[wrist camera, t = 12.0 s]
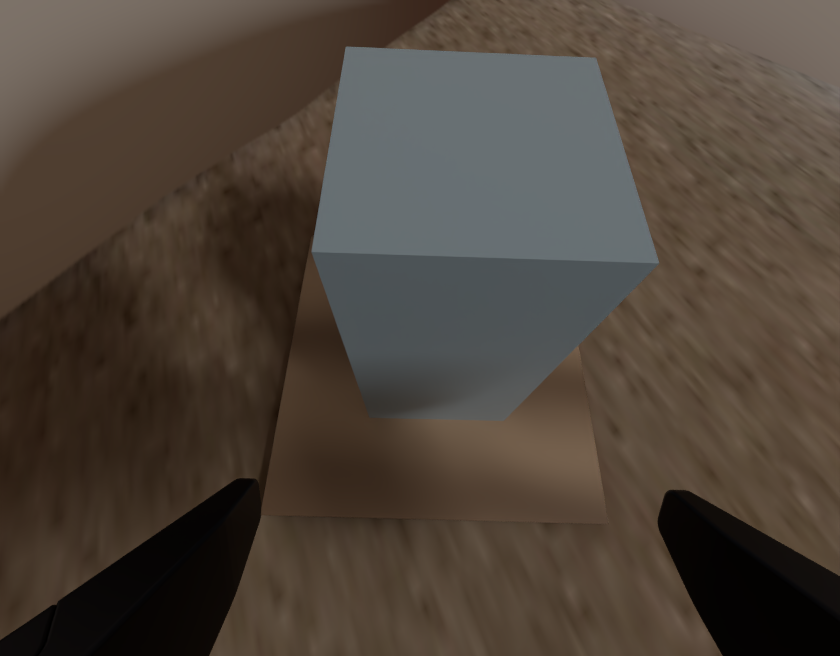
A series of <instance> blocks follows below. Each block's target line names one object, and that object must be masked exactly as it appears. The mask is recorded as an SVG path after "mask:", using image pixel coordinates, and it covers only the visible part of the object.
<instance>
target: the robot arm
mask: <svg viewBox="0 0 840 656" xmlns="http://www.w3.org/2000/svg"><path fill="white" fill-rule="evenodd" d="M260 518H261V500H260V491H259V484H258V481H257V480H256V479H251V478H239V479H236V480H234V481H233V482H231V483H230V484H228V485H227V486H225V487H224V488H222V489H221V490H220V491H218V492H217V493H215V494H214V495H212V496H211V497H209V498H208V499H206V500H205V501H204V502H202V503H201V504H199V505H198V506H196V507H195V508H193V509H192V510H190V511H189V512H187V513H186V514H185V515H183V516H182V517H180V518H179V519H177V520H176V521H174V522H173V523H171V524H170V525H169V526H167V527H166V528H164V529H163V530H161V531H160V532H158V533H157V534H155V535H154V536H152V537H151V538H150V539H148V540H147V541H145V542H144V543H142V544H141V545H139V546H138V547H136V548H135V549H133V550H132V551H131V552H129V553H128V554H126V555H125V556H123V557H122V558H120V559H119V560H117V561H116V562H115V563H113V564H112V565H110V566H109V567H107V568H106V569H104V570H103V571H101V572H100V573H98V574H97V575H96V576H94V577H93V578H91V579H90V580H88V581H87V582H85V583H84V584H82V585H81V586H80V587H78V588H77V589H75V590H74V591H72V592H71V593H69V594H68V595H66V596H65V597H63V598H62V599H61V600H59V601H58V603H57V606H56V605H52V606H50V607H49V608H47V609H46V610H44V611H43V612H41V613H40V614H38V615H37V616H36V617H34V618H33V619H31V620H30V621H28V622H27V623H25V624H24V625H22V626H21V627H19V628H18V629H16V630H15V631H13V632H12V633H10V634H9V635H7V636H6V637H4V638H3V639H1V640H0V656H209V655H210V652H211V650H212V648H213V646H214V643H215V641H216V639H217V636H218V634H219V632H220V630H221V627H222V625H223V623H224V620H225V618H226V616H227V614H228V611H229V609H230V607H231V604H232V602H233V599H234V597H235V595H236V592H237V589H238V586H239V583H240V580H241V577H242V574H243V571H244V568H245V565H246V562H247V559H248V556H249V553H250V550H251V547H252V543H253V540H254V537H255V534H256V531H257V528H258V525H259V522H260ZM658 528H659V531H660V533H661V535H662V538H663V540H664V542H665V544H666V546H667V548H668V551H669V553H670V555H671V557H672V559H673V561H674V564H675V566H676V568H677V570H678V572H679V574H680V577H681V579H682V581H683V583H684V585H685V587H686V590H687V592H688V594H689V596H690V598H691V600H692V602H693V604H694V606H695V608H696V609H697V611H698V613H699V615H700V617H701V619H702V620H703V622H704V624H705V626H706V627H707V629H708V631H709V633H710V634H711V636H712V638H713V640H714V641H715V643H716V645H717V647H718V648H719V650H720V652H721V654H722V655H723V656H840V576H838V575H837V574H835V573H833V572H831V571H830V570H828V569H826V568H824V567H822V566H821V565H819V564H817V563H815V562H814V561H812V560H810V559H808V558H807V557H805V556H803V555H801V554H799V553H798V552H796V551H794V550H792V549H791V548H789V547H787V546H785V545H784V544H782V543H780V542H778V541H776V540H775V539H773V538H771V537H769V536H768V535H766V534H764V533H762V532H761V531H759V530H757V529H755V528H753V527H752V526H750V525H748V524H746V523H745V522H743V521H741V520H739V519H738V518H736V517H734V516H732V515H730V514H729V513H727V512H725V511H723V510H722V509H720V508H718V507H716V506H715V505H713V504H711V503H709V502H707V501H706V500H704V499H702V498H700V497H699V496H697V495H695V494H693V493H692V492H690V491H686V490H669V491H667V492H666V493H665V495H664V499H663V502H662V506H661V509H660V512H659V516H658Z"/></svg>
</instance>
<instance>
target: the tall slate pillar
mask: <svg viewBox="0 0 840 656" xmlns="http://www.w3.org/2000/svg"><path fill="white" fill-rule="evenodd" d="M311 252H312V255H313V258H314V261H315V264H316V267H317V269H318V272H319V275H320V278H321V281H322V284H323V287H324V289H325V292H326V295H327V298H328V301H329V304H330V307H331V309H332V312H333V315H334V318H335V321H336V324H337V327H338V329H339V332H340V335H341V338H342V341H343V344H344V347H345V349H346V352H347V355H348V358H349V361H350V364H351V367H352V369H353V372H354V375H355V378H356V381H357V384H358V387H359V389H360V392H361V395H362V398H363V401H364V404H365V407H366V409H367V412H368V415H369V418H399V419H443V420H487V421H504V420H505V419H506V418H507V417H508V416H509V415H510V414H511V413H512V412H513V411H514V410H515V409H516V408H517V407H518V406H519V405H520V404H521V403H522V402H523V401H524V400H525V399H526V398H527V397H528V396H529V395H530V394H531V393H532V392H533V391H534V390H535V389H536V388H537V387H538V386H539V385H540V384H541V383H542V382H543V381H544V380H545V379H546V377H547V376H548V375H549V374H550V373H551V372H552V371H553V370H554V369H555V368H556V367H557V366H558V365H559V364H560V363H561V362H562V361H563V360H564V359H565V358H566V357H567V356H568V355H569V354H570V353H571V352H572V351H573V350H574V349H575V348H576V347H577V346H578V345H579V344H580V343H581V342H582V341H583V340H584V339H585V338H586V337H587V336H588V335H589V334H590V333H591V332H592V331H593V330H594V329H595V328H596V327H597V326H598V325H599V324H600V323H601V322H602V321H603V320H604V319H605V318H606V317H607V316H608V315H609V314H610V313H611V312H612V311H613V310H614V309H615V308H616V307H617V306H618V305H619V304H620V302H621V301H622V300H623V299H624V298H625V297H626V296H627V295H628V294H629V293H630V292H631V291H632V290H633V289H634V288H635V287H636V286H637V285H638V284H639V283H640V282H641V281H642V280H643V279H644V278H645V277H646V276H647V275H648V274H649V273H650V272H651V271H652V270H653V269H654V268H655V267H656V266H657V265H658V264H659V261H658V258H657V254H656V251H655V248H654V245H653V241H652V238H651V235H650V232H649V228H648V225H647V222H646V219H645V215H644V212H643V209H642V206H641V202H640V199H639V196H638V193H637V189H636V186H635V183H634V180H633V177H632V173H631V170H630V167H629V164H628V160H627V157H626V154H625V151H624V147H623V144H622V141H621V138H620V134H619V131H618V128H617V125H616V121H615V118H614V115H613V112H612V108H611V105H610V102H609V99H608V95H607V92H606V89H605V86H604V82H603V79H602V76H601V73H600V69H599V66H598V63H597V60H596V58H587V57H565V56H542V55H520V54H498V53H475V52H453V51H431V50H408V49H386V48H363V47H346V50H345V56H344V62H343V68H342V73H341V79H340V85H339V91H338V97H337V103H336V109H335V115H334V121H333V127H332V133H331V139H330V145H329V150H328V156H327V162H326V168H325V174H324V180H323V186H322V192H321V198H320V204H319V210H318V216H317V222H316V228H315V233H314V239H313V245H312V251H311Z"/></svg>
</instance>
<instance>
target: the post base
mask: <svg viewBox="0 0 840 656" xmlns="http://www.w3.org/2000/svg"><path fill="white" fill-rule="evenodd" d="M313 239H314V236H311V240H310V246H309V251H308V257H307V262H306V267H305V273H304V278H303V284H302V289H301V295H300V300H299V306H298V311H297V317H296V322H295V327H294V333H293V338H292V344H291V349H290V355H289V360H288V366H287V371H286V377H285V382H284V387H283V393H282V398H281V404H280V409H279V415H278V420H277V426H276V431H275V436H274V442H273V447H272V453H271V458H270V464H269V469H268V475H267V480H266V486H265V491H264V496H263V502H262V507H261V515H275V516H313V517H351V518H390V519H428V520H466V521H505V522H543V523H581V524H609V523H608V517H607V511H606V505H605V499H604V493H603V487H602V481H601V475H600V470H599V464H598V458H597V452H596V446H595V440H594V434H593V428H592V422H591V416H590V410H589V404H588V399H587V393H586V387H585V381H584V375H583V369H582V363H581V357H580V351H579V345H578V346H577V347H576V348H575V349H574V350H573V351H572V352H571V353H570V354H569V355H568V356H567V357H566V358H565V359H564V360H563V361H562V362H561V363H560V364H559V365H558V366H557V367H556V368H555V369H554V370H553V371H552V372H551V373H550V374H549V375H548V376H547V377H546V379H545V380H544V381H543V382H542V383H541V384H540V385H539V386H538V387H537V388H536V389H535V390H534V391H533V392H532V393H531V394H530V395H529V396H528V397H527V398H526V399H525V400H524V401H523V402H522V403H521V404H520V405H519V406H518V407H517V408H516V409H515V410H514V411H513V412H512V413H511V414H510V415H509V416H508V417H507V418H506V419H505V420H504V421H487V420H443V419H399V418H369V415H368V412H367V409H366V407H365V404H364V401H363V398H362V395H361V392H360V389H359V387H358V384H357V381H356V378H355V375H354V372H353V369H352V367H351V364H350V361H349V358H348V355H347V352H346V349H345V347H344V344H343V341H342V338H341V335H340V332H339V329H338V327H337V324H336V321H335V318H334V315H333V312H332V309H331V307H330V304H329V301H328V298H327V295H326V292H325V289H324V287H323V284H322V281H321V278H320V275H319V272H318V269H317V267H316V264H315V261H314V258H313V255H312V252H311V251H312V245H313Z"/></svg>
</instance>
